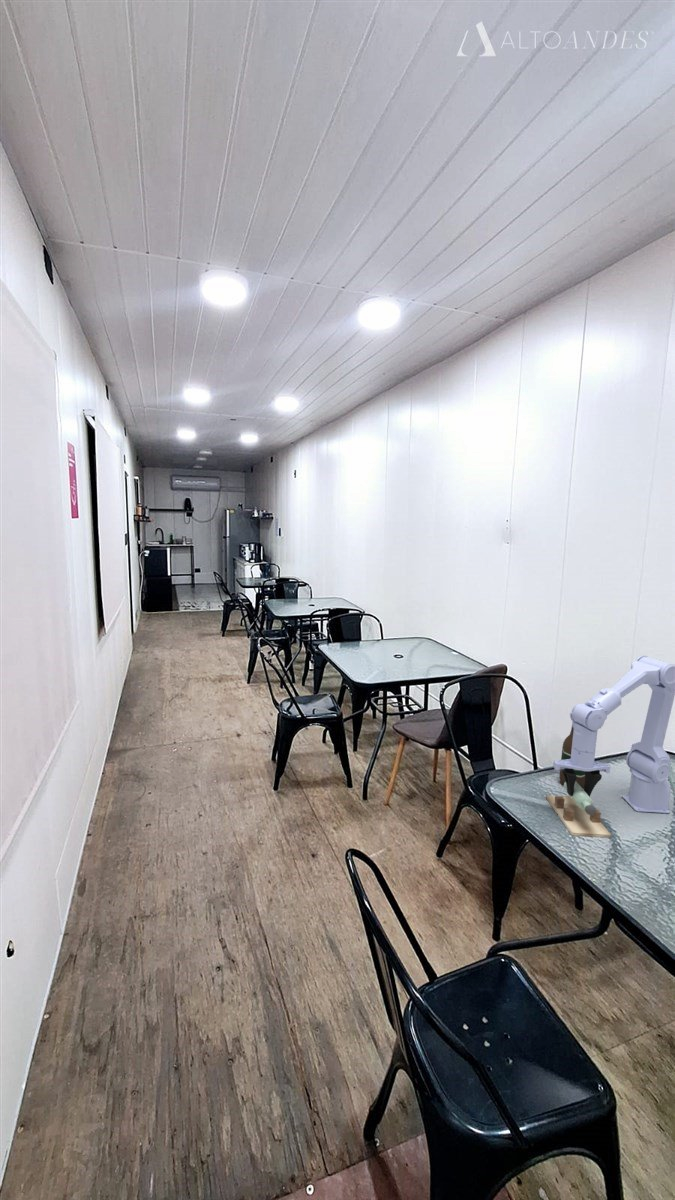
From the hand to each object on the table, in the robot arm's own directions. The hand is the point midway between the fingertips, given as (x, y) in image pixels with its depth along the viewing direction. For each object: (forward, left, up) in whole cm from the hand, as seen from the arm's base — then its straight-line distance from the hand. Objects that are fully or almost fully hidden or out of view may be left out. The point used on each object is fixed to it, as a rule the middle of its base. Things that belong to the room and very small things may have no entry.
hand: (578, 794), depth 133 cm
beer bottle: (-7, -18, -7) cm, 20 cm away
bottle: (0, +1, -2) cm, 3 cm away
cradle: (0, 0, -6) cm, 6 cm away
